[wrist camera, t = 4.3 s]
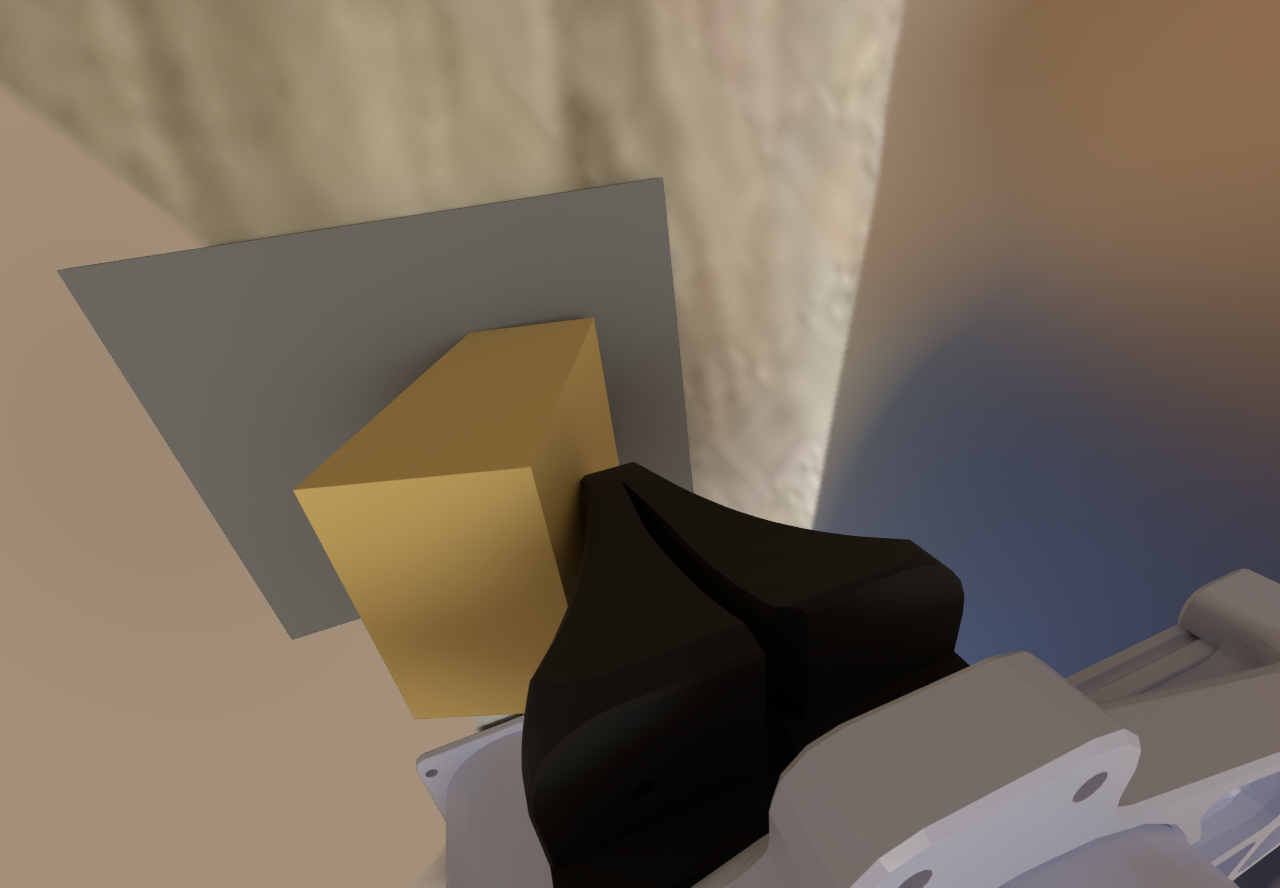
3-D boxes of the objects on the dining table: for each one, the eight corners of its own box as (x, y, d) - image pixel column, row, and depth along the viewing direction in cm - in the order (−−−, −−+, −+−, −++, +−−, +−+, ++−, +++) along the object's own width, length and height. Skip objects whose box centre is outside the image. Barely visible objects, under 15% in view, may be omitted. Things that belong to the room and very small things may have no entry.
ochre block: (621, 480, 19) (595, 709, 11) (515, 490, 19) (414, 719, 11) (593, 317, 16) (530, 467, 8) (469, 332, 16) (292, 489, 8)
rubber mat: (691, 507, 23) (695, 512, 22) (294, 631, 19) (292, 639, 19) (658, 178, 17) (662, 177, 16) (66, 268, 13) (56, 270, 13)
